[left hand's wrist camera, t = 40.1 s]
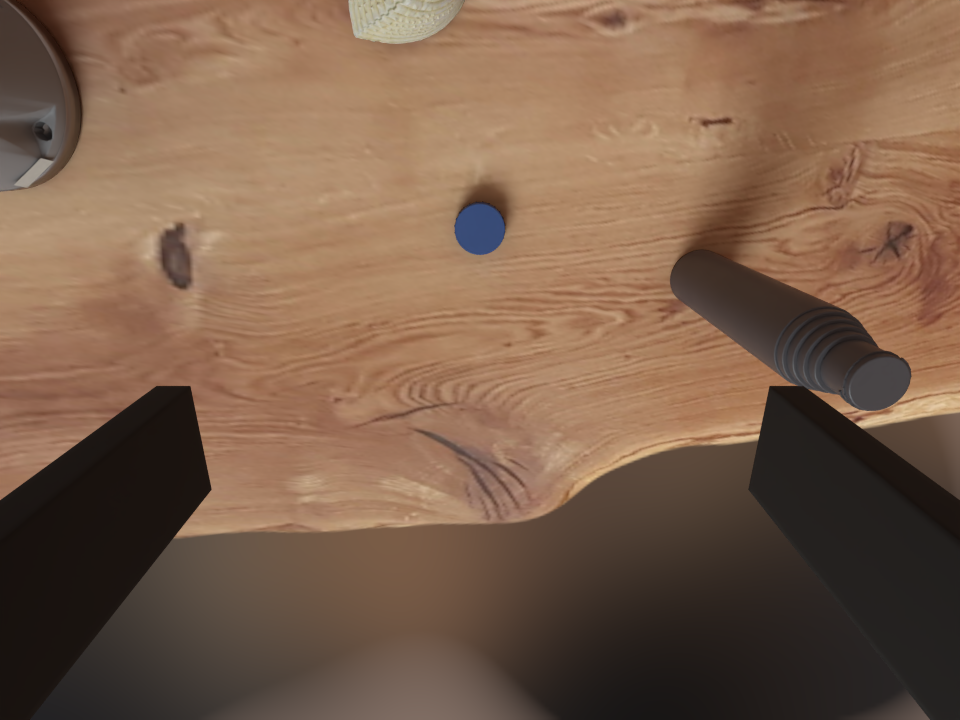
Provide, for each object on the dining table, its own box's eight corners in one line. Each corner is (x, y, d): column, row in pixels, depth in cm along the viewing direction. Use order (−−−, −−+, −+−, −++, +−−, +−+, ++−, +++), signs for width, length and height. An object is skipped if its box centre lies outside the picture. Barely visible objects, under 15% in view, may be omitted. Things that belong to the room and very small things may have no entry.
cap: (488, 191, 47) (488, 193, 45) (513, 235, 48) (514, 238, 47) (445, 218, 48) (444, 220, 46) (471, 261, 49) (471, 264, 47)
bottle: (695, 314, 51) (868, 446, 28) (658, 280, 50) (807, 389, 27) (737, 274, 49) (953, 378, 27) (700, 237, 48) (893, 315, 26)
